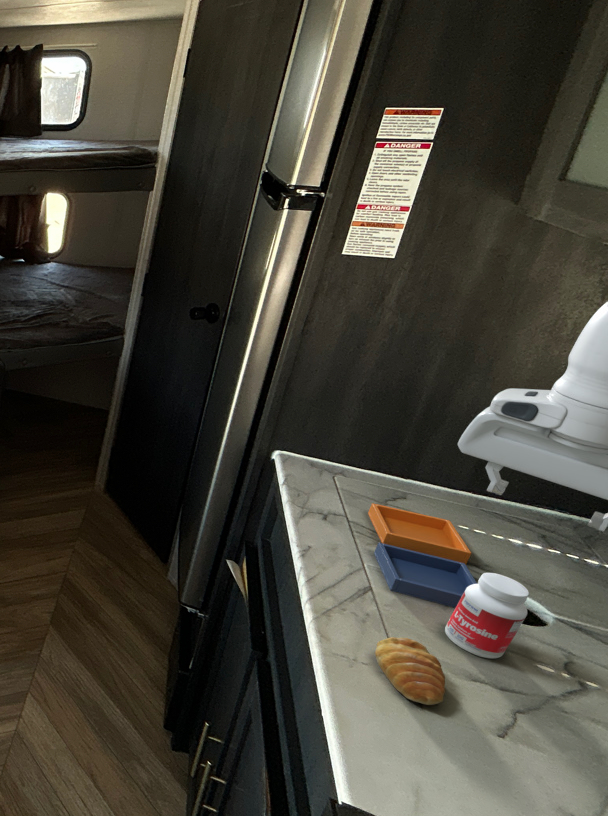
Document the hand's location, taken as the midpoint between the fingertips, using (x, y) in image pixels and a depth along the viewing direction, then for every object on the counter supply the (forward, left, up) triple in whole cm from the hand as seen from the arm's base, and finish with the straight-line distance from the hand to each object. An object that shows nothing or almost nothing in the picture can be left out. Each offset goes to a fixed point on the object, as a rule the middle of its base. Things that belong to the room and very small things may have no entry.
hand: (543, 509), depth 85 cm
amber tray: (+1, -24, -22) cm, 33 cm away
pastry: (+11, +15, -22) cm, 29 cm away
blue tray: (+3, -10, -22) cm, 24 cm away
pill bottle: (+1, +3, -22) cm, 23 cm away
